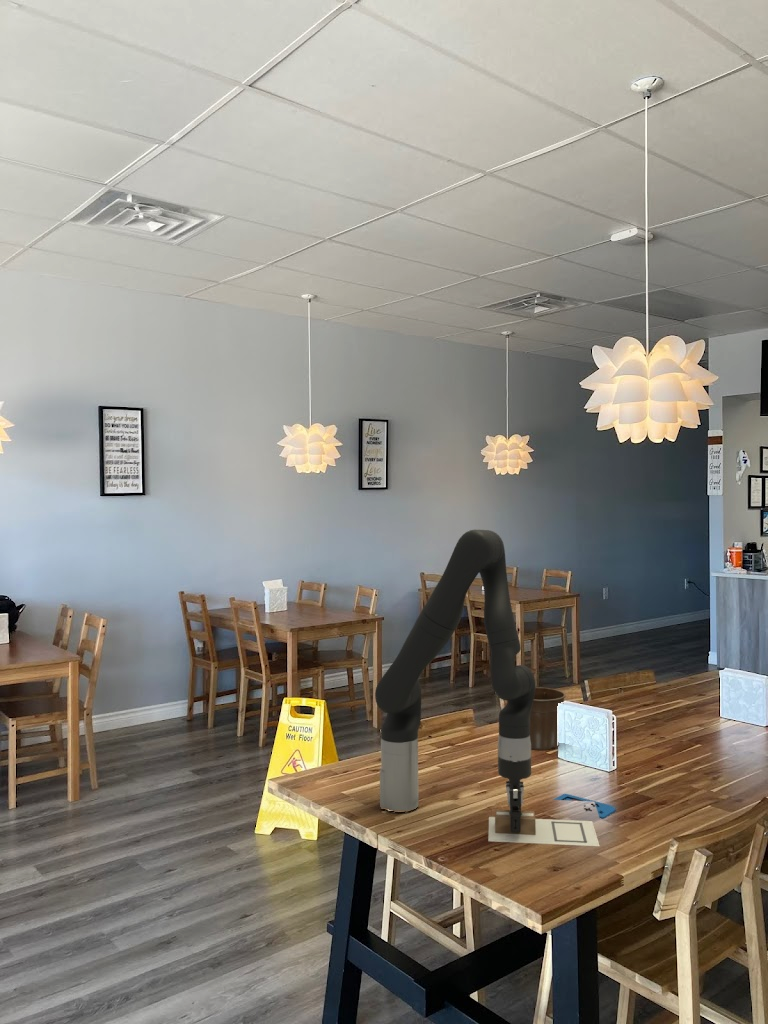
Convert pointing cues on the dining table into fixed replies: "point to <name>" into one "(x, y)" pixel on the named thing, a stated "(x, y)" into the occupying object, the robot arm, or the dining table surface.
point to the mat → (551, 833)
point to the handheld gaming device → (602, 808)
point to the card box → (525, 820)
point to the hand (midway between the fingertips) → (515, 824)
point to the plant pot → (544, 718)
